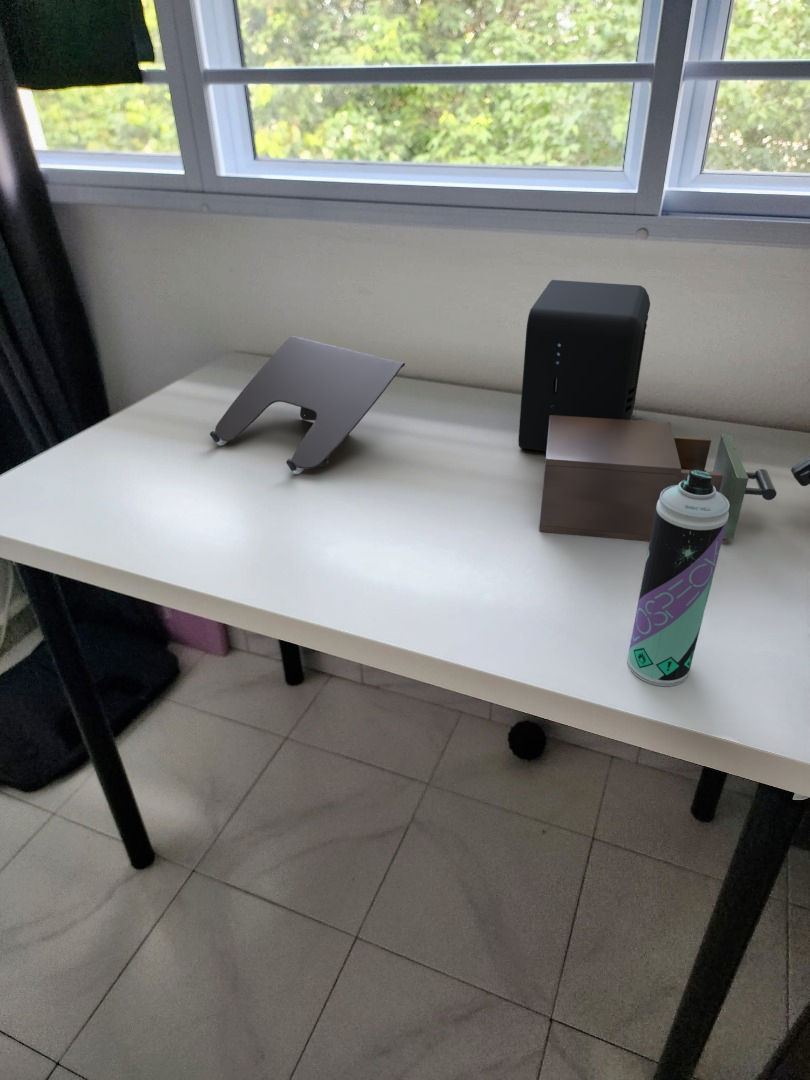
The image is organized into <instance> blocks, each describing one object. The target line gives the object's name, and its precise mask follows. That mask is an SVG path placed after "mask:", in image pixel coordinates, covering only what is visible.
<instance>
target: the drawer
mask: <svg viewBox="0 0 810 1080" xmlns="http://www.w3.org/2000/svg"><path fill="white" fill-rule="evenodd" d="M673 436H674V440H675V444H676V448H677V453H678V457H679V461H680V465H681V474H680V479H679V483H680V482H681V481H684V480H685V479H687V477H688V474H689V472H690V470H691V469H703V470H705V471H707V472H708V473H709V474H710V476H711V477H712V479H711V483H712V484H713V486H714V487H715V488H716V491H717V492H719V493H720V494H722V495H723V496H724V497H726V498H727V500H728V501H729V504H730V506H729V510H728V512H729V516H728V520H727V524H726V528H725V532H724V536H723V539H729V540H732V539H733V540H734V537H735V533H736V529H737V526H738V525H737V524H738V521H739V517H740V514H741V510H742V505H743V502H744V498H745V495H753V496H762V498H763V499H764V500H766V501H772V500H774V499H775V498H776V497H777V491H776V488H775V485H774V483H773V482H772V481H773V480H772V479H771V477H770V474H769V472H768V471H767V470H766V469H765V468H760V469H757V470H756V471H755V472H750V471H747V470H746V468H745V467H744V464H743V461H742V458H741V456H740V453H739V451H738V448H737V446H736V443H735V440H734V438H733V436H732V435H731V434H720V438H719V443H718V447H717V452H716V456H715V461H714V463H713V464H714V465H713V468H712V471H710V470H706V467H707V461H708V457H709V452H710V448H711V443H712V438H711V437H707V436H706V437H705V436H691V435H689V436H688V435H675V434H673ZM749 480H755V482H756V485H757V487H747V486H748V483H749ZM678 485H679V484H678Z"/></svg>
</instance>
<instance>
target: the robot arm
mask: <svg viewBox="0 0 810 1080" xmlns="http://www.w3.org/2000/svg"><path fill="white" fill-rule="evenodd" d="M790 472H791V474H792V476H793V477H794V479H795V480H796V482H797V483H798V484H799V485H800V486H801V487H807V486H809V485H810V456H808V457H806V458H805V459H803V460H802V461H800V462H798V463H796V464H795V465H793V466H792V467H791V468H790Z"/></svg>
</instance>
